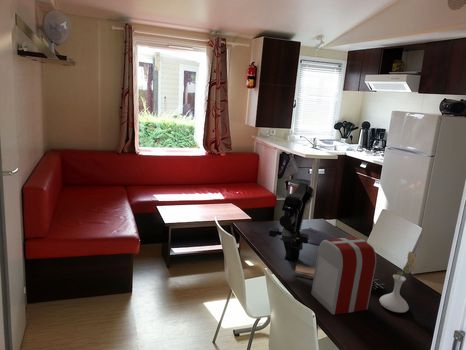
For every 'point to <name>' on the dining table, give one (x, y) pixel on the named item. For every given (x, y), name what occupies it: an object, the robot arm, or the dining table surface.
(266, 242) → the dining table surface
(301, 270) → the terracotta tile
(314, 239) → the toy spaceship
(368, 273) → the striped gift box
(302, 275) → the birch dock
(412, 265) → the flower in vase
